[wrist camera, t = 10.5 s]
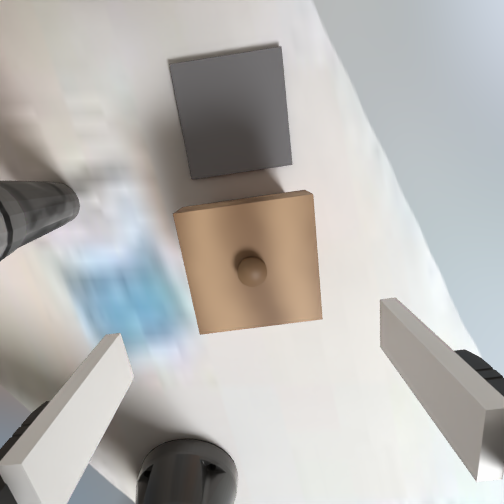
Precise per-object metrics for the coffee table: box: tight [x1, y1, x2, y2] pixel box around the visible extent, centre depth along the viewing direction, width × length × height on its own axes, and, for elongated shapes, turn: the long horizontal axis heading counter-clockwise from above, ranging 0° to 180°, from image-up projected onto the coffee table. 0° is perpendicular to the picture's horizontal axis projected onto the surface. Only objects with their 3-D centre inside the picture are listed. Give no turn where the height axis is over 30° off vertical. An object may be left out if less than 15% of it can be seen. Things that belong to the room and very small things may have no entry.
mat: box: [169, 47, 292, 179], centre depth 30 cm, size 11×11×1 cm
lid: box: [173, 190, 322, 335], centre depth 25 cm, size 11×11×4 cm
